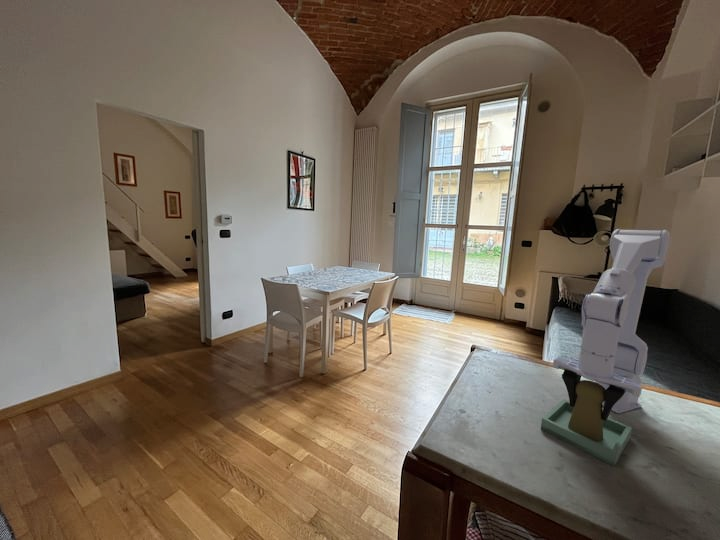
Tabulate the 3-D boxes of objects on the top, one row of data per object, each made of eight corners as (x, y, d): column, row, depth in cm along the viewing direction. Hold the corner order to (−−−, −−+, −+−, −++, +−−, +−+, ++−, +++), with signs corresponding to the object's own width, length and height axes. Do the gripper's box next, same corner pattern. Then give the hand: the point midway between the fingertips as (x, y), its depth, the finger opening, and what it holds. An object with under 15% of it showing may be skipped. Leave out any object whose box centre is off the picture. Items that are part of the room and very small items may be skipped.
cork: (609, 435, 62) (616, 387, 60) (594, 445, 59) (601, 394, 57) (577, 419, 67) (583, 374, 65) (562, 427, 64) (568, 379, 63)
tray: (562, 408, 72) (563, 399, 72) (630, 438, 62) (632, 427, 62) (540, 428, 65) (542, 418, 64) (614, 466, 55) (616, 454, 54)
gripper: (550, 343, 64) (543, 401, 66) (641, 370, 53) (628, 438, 55) (562, 337, 68) (555, 391, 70) (648, 360, 57) (636, 424, 59)
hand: (588, 411), depth 63 cm, fingers closed on cork, 5 cm apart
